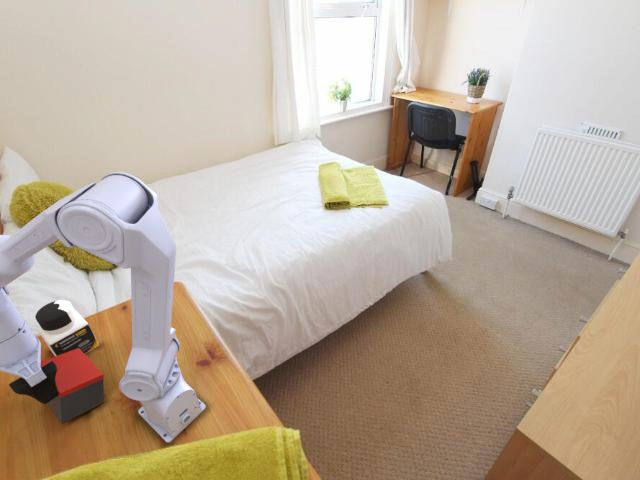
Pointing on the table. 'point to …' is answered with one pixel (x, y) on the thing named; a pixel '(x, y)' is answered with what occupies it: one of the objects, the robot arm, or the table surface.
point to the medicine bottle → (64, 328)
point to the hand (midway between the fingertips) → (41, 386)
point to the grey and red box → (75, 385)
